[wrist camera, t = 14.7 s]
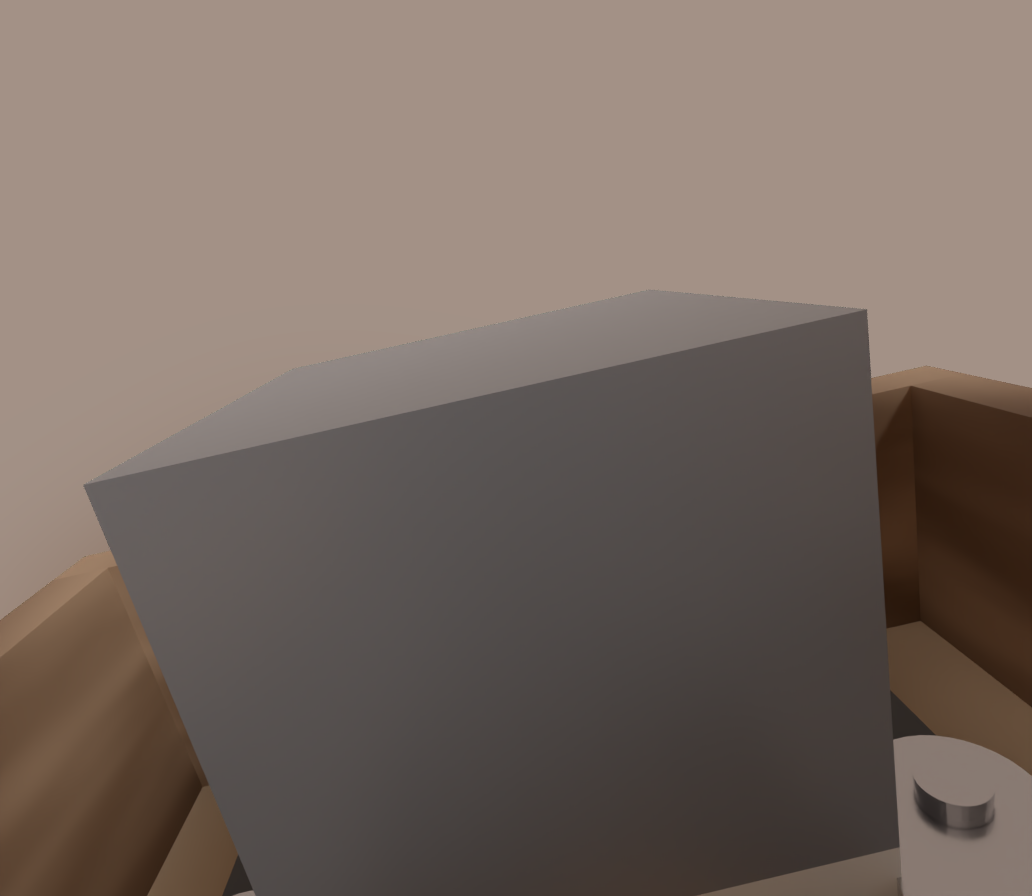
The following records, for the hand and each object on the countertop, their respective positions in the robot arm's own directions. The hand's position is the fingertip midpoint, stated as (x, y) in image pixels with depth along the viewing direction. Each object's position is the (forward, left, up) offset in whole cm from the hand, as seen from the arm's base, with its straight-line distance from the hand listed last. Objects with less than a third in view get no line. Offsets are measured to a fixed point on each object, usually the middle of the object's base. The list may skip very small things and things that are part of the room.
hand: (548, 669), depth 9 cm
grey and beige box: (0, +3, -7) cm, 8 cm away
